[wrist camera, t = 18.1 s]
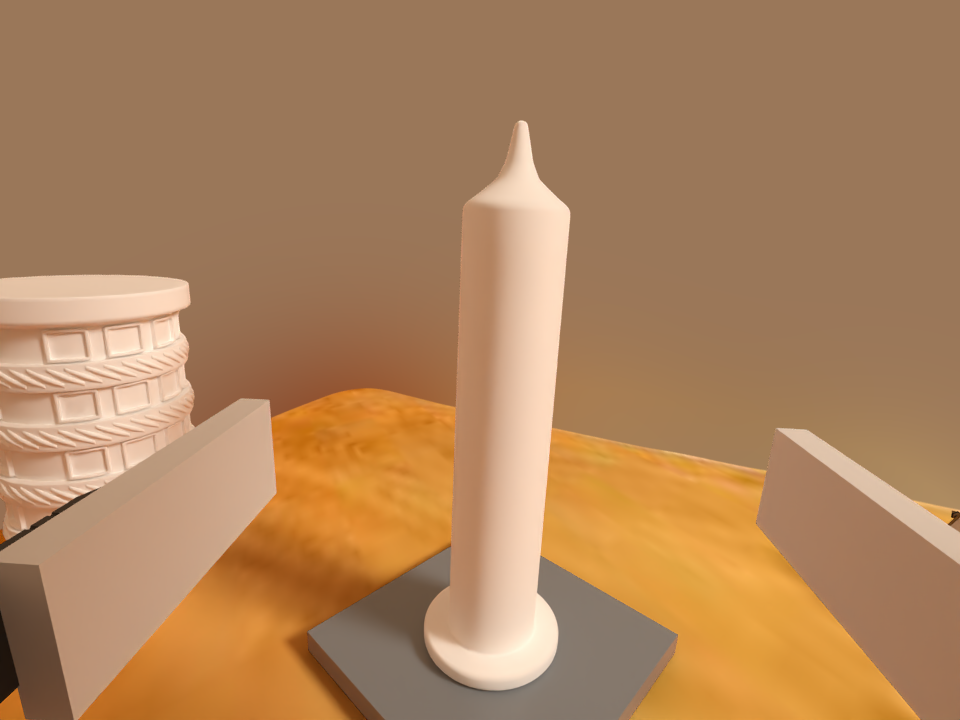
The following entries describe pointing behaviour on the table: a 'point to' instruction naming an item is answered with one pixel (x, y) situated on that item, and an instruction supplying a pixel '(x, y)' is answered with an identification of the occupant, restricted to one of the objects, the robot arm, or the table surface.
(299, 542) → the table surface
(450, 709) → the slate tile
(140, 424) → the decorative container
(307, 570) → the table surface
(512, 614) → the candle
